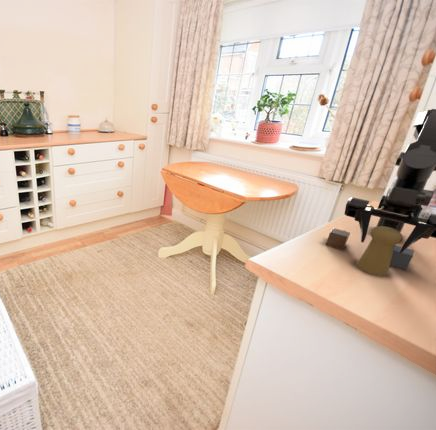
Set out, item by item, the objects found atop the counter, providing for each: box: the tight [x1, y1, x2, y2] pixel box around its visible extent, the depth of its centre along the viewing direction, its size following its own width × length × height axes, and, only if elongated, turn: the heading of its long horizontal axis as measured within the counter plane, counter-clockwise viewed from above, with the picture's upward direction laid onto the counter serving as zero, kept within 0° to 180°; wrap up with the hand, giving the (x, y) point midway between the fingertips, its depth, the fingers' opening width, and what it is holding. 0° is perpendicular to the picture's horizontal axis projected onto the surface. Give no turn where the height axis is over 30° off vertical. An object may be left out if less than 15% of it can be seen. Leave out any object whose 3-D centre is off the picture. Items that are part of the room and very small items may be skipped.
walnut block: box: [325, 227, 351, 250], centre depth 82 cm, size 4×4×4 cm
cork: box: [355, 226, 403, 277], centre depth 69 cm, size 6×6×11 cm
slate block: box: [390, 244, 415, 271], centre depth 73 cm, size 4×4×4 cm
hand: (381, 246), depth 68 cm, fingers open, 7 cm apart
